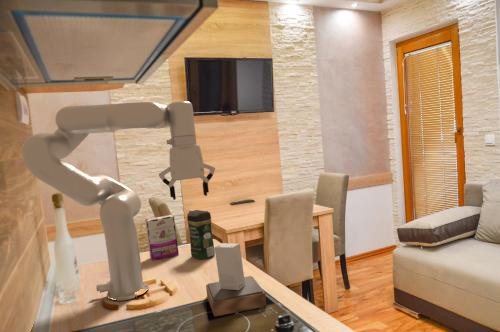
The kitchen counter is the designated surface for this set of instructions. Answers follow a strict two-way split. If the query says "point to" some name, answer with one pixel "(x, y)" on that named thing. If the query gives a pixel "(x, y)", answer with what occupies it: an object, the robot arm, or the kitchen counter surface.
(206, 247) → the coffee jar
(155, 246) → the candy bar box
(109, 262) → the robot arm
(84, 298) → the kitchen counter surface
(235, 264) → the skincare box
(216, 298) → the walnut plinth
